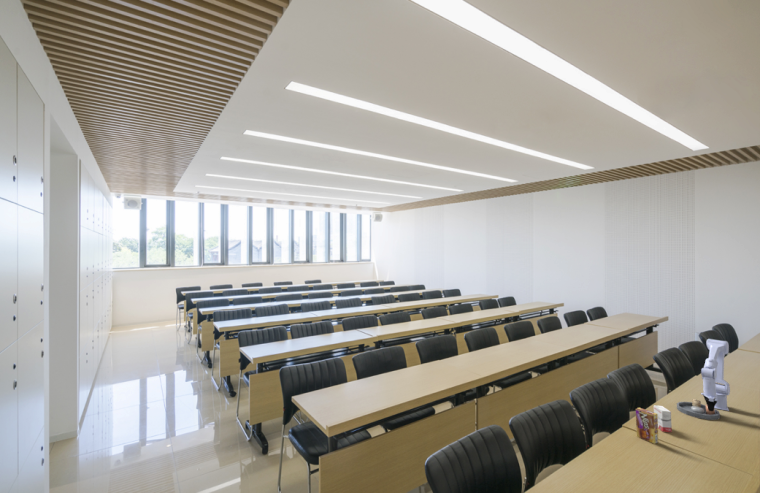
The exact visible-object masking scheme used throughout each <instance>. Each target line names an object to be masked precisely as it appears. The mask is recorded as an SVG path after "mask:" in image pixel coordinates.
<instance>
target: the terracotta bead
mask: <svg viewBox="0 0 760 493" xmlns="http://www.w3.org/2000/svg"><path fill="white" fill-rule="evenodd" d="M705 405H706V413H707V414H709V415H715V409H716V408H714V411H709V410H708V406H707V404H705Z"/></svg>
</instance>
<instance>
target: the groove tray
mask: <svg viewBox="0 0 760 493" xmlns="http://www.w3.org/2000/svg"><path fill="white" fill-rule="evenodd" d="M706 405H707V404H702V403H701V408H700V407H696V406H692V401H678V402H677V403H676V410H677V411H679V412H680V413H683V414H685V415H686V416H689V417H694V418H697V419H702V420H709V421H716V420H717V421H718V420H719V419H720V418H721V413H720V411H719V410H718V409H716V408H714V409H715V415H709V414H707V413H706Z"/></svg>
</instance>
